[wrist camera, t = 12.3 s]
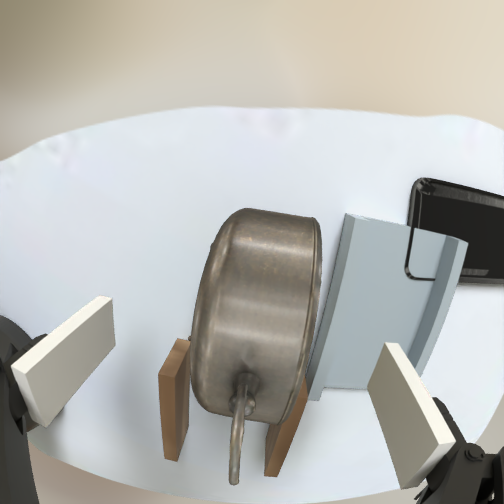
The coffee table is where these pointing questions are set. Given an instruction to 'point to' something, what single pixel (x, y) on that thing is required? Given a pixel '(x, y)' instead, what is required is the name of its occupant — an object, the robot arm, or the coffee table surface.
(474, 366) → the coffee table surface
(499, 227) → the phone
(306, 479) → the coffee table surface
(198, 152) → the coffee table surface
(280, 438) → the channel
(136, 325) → the coffee table surface
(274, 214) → the alarm clock
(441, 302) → the cradle
